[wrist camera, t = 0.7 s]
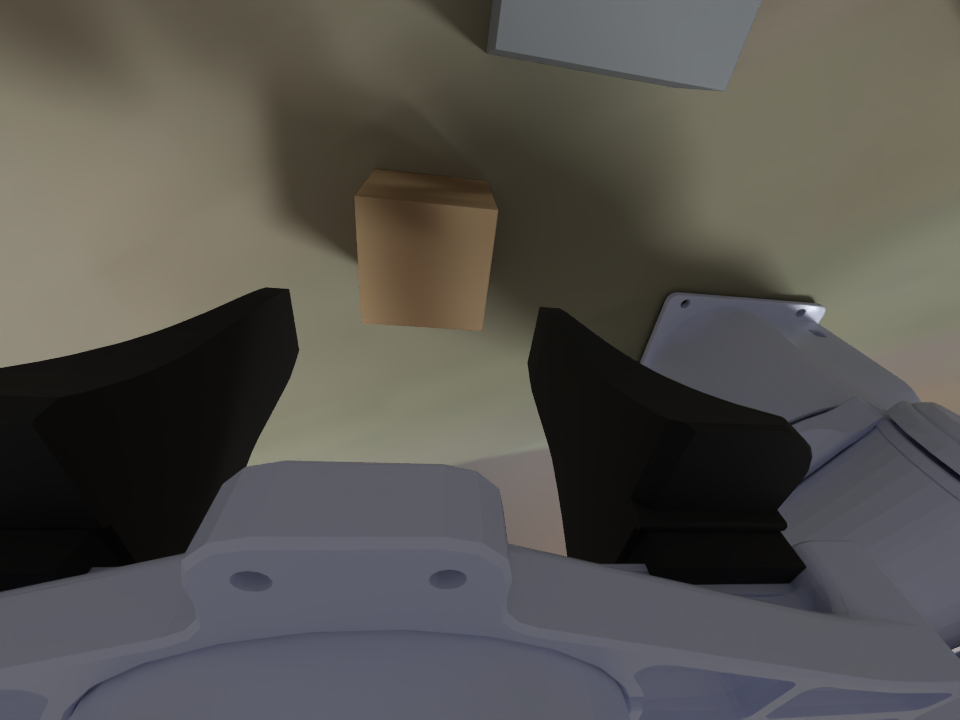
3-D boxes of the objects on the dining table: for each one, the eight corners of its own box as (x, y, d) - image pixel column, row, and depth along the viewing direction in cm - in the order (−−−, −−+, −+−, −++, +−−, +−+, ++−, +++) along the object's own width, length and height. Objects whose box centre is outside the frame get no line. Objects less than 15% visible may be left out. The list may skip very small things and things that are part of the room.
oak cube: (486, 180, 19) (498, 210, 15) (475, 281, 21) (481, 330, 17) (374, 168, 18) (354, 195, 14) (377, 274, 21) (361, 323, 17)
